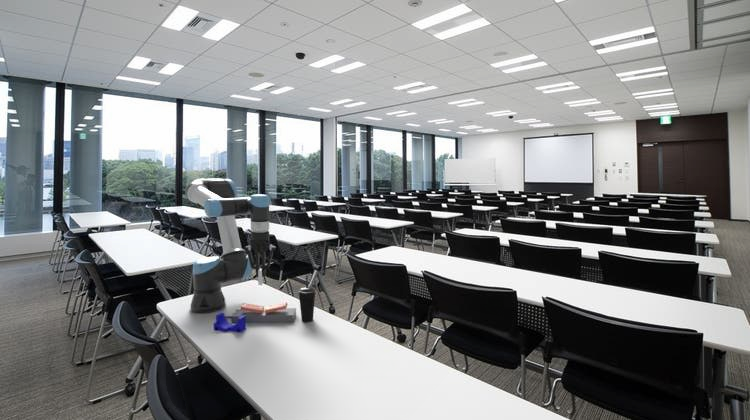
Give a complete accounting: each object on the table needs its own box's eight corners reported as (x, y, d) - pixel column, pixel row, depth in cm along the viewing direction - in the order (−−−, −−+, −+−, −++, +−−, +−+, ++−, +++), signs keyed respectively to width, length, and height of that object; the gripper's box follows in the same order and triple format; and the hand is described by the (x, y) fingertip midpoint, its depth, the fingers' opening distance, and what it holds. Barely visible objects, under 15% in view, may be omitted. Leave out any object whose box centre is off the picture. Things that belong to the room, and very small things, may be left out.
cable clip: (213, 330, 146) (213, 316, 146) (221, 326, 151) (221, 312, 150) (238, 334, 143) (238, 320, 142) (245, 330, 147) (245, 315, 147)
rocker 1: (240, 309, 154) (240, 306, 154) (243, 305, 158) (243, 302, 158) (261, 313, 155) (261, 310, 155) (263, 309, 159) (264, 306, 159)
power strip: (219, 324, 152) (218, 316, 152) (225, 316, 160) (225, 309, 160) (293, 322, 154) (293, 315, 154) (296, 314, 162) (295, 307, 162)
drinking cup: (318, 317, 160) (317, 273, 158) (313, 324, 153) (313, 278, 151) (301, 316, 161) (300, 272, 159) (296, 323, 154) (295, 277, 151)
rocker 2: (265, 313, 155) (264, 310, 155) (267, 309, 159) (266, 306, 159) (285, 308, 155) (285, 305, 155) (287, 305, 160) (286, 301, 160)
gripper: (242, 232, 149) (243, 287, 152) (274, 232, 150) (274, 286, 154) (246, 229, 156) (247, 281, 159) (277, 229, 158) (277, 281, 161)
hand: (260, 283), depth 157 cm, fingers closed
